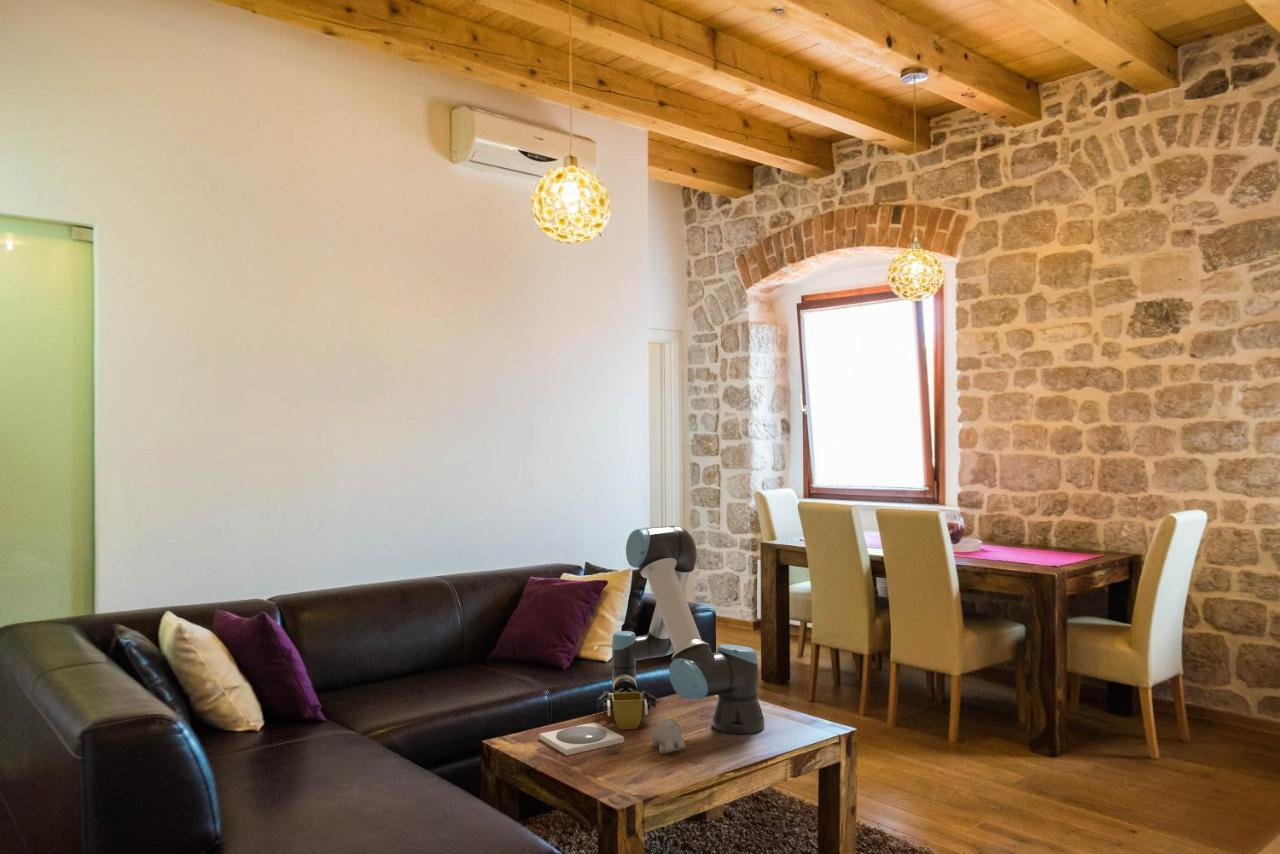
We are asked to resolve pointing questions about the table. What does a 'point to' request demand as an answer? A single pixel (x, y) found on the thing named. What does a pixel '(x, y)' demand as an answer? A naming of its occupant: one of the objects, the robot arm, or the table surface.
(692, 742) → the table surface
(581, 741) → the tile stand
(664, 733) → the hippopotamus figurine
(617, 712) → the flower pot
